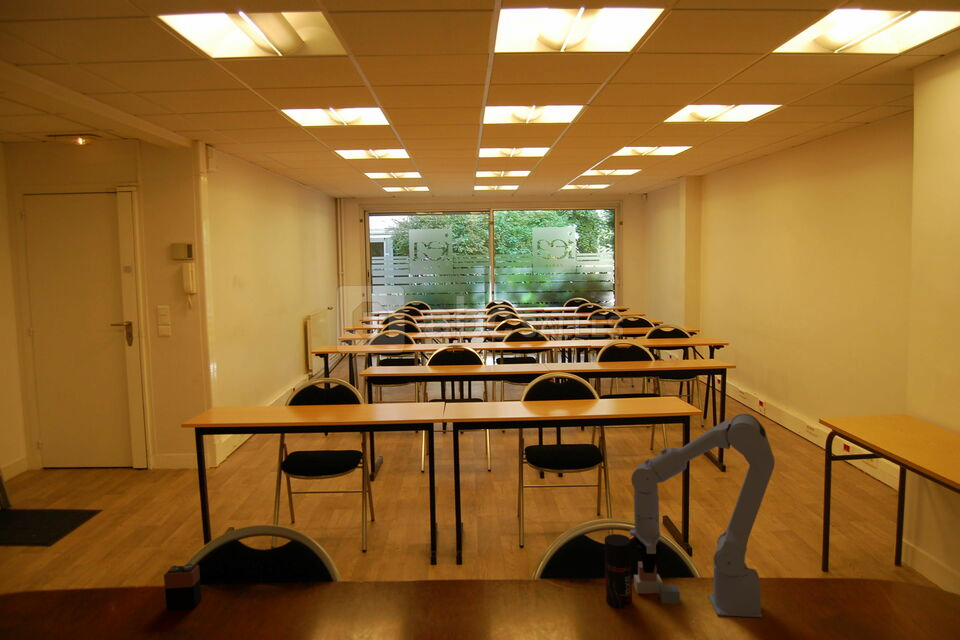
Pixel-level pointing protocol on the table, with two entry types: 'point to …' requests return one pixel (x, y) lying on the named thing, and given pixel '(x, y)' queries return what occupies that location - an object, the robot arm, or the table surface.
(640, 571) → the terracotta brick
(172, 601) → the battery
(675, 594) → the slate brick
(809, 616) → the table surface
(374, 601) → the table surface
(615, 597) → the deodorant
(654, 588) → the cream brick
